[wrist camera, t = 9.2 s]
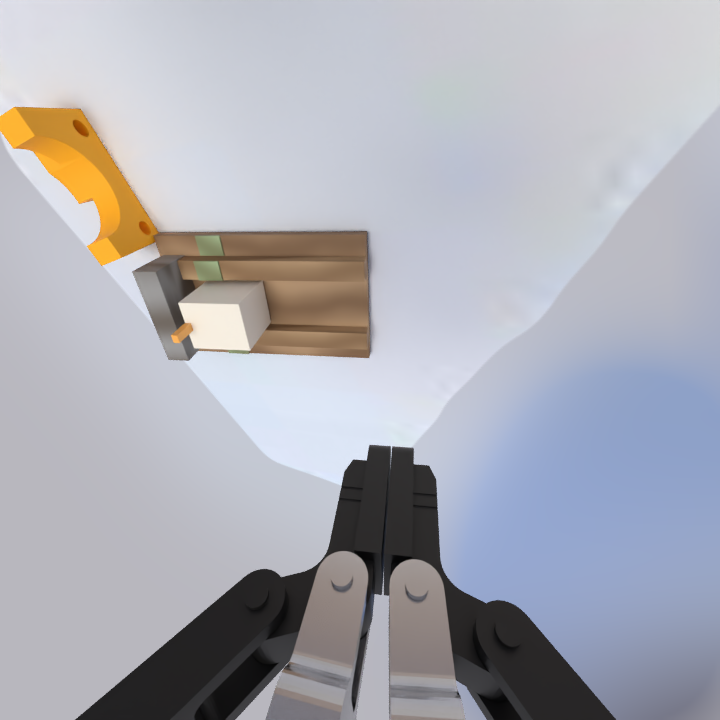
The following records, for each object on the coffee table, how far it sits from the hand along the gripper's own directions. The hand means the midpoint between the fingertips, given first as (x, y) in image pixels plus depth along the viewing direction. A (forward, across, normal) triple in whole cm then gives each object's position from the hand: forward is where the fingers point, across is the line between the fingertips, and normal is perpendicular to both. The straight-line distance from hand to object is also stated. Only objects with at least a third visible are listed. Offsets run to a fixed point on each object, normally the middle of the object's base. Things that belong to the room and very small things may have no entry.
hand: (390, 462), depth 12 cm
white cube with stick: (+25, +18, +6) cm, 32 cm away
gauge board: (+27, +15, +6) cm, 31 cm away
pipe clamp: (+27, +30, -5) cm, 41 cm away
